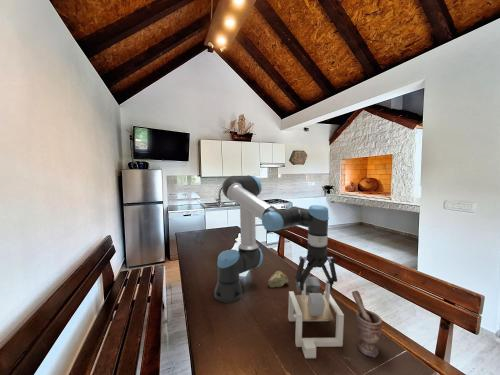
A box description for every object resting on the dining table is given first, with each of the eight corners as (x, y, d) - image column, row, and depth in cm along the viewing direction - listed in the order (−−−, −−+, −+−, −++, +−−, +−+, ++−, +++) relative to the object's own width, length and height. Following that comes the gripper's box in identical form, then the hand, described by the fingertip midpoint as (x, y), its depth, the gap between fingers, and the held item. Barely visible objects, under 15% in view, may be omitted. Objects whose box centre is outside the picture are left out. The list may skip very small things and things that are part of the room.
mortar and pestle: (343, 343, 85) (345, 295, 83) (352, 332, 91) (354, 287, 89) (375, 362, 77) (378, 309, 75) (383, 349, 83) (386, 299, 81)
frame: (296, 346, 83) (297, 315, 82) (288, 318, 99) (288, 291, 98) (342, 346, 84) (344, 314, 83) (327, 318, 100) (328, 291, 98)
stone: (307, 304, 92) (309, 293, 89) (318, 304, 92) (321, 292, 89) (310, 315, 87) (312, 304, 84) (322, 315, 87) (325, 303, 84)
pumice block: (305, 358, 78) (305, 348, 78) (302, 349, 82) (302, 339, 82) (316, 358, 78) (316, 348, 78) (312, 349, 82) (312, 339, 82)
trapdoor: (301, 320, 86) (302, 313, 84) (292, 282, 103) (293, 276, 101) (333, 320, 86) (335, 313, 85) (319, 282, 103) (320, 276, 101)
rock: (273, 295, 126) (267, 283, 122) (268, 284, 134) (263, 273, 130) (291, 285, 127) (285, 273, 123) (285, 275, 135) (280, 264, 132)
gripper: (292, 247, 83) (290, 303, 85) (348, 247, 83) (346, 302, 85) (288, 241, 90) (287, 292, 92) (340, 241, 91) (337, 292, 93)
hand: (315, 297), depth 89 cm, fingers open, 9 cm apart
